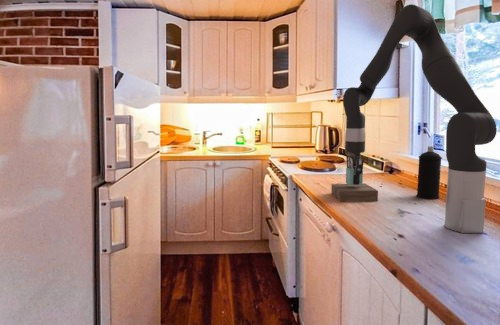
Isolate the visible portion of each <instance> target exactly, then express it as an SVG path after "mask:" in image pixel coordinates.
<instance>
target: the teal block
mask: <svg viewBox="0 0 500 325" xmlns="http://www.w3.org/2000/svg"><path fill="white" fill-rule="evenodd" d="M357 171H358V170H357ZM363 173H364V170H363V171H362V174H360V180H359V185H362V184H363V183H364V182H363V181H364V180H363V179H364V178H363V177H364V176H363ZM353 175H354V174H353V169H352V168H347V167H346V168H345V184H348V185H354V184H353Z"/></svg>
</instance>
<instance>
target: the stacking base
mask: <svg viewBox="0 0 500 325" xmlns="http://www.w3.org/2000/svg"><path fill="white" fill-rule="evenodd" d="M331 195H332V196H334V197H335V199H337V200H338V201H339V202H341V203H352V202H353V203H354V202H355V203H357V202H360V203H361V202H378V201H379V200H378V198H379V190H378V189H376V188H375V187H372V186H370V185H368V184H366V183H362V185H348V184H347V183H333V184H331Z"/></svg>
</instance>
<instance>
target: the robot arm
mask: <svg viewBox="0 0 500 325" xmlns="http://www.w3.org/2000/svg"><path fill="white" fill-rule="evenodd" d="M405 36H407V37H409V38H410V39H412V40H413V41H414V43H415V44H416V45H417V47H418V48H419V50H420V52H421V70H422V73H423V76H424V78H425V79H426V81H427V83H428V85H429V86H430V88H431V89H432V90H433V91H434V92H435V93H436V94H437V95H438V96H439V97H441V98H442V99H443V100H445V101H446V102H448V103H449V105H451V106H452V107H453V108H454V109H455V110H456V112H457V113H455V114H453V115H452V116H451V117H450V119H449V120H448V122H447V126H446V131H445V133H446V134H445V135H446V136H445V142H446V143H445V157H446V160H447V162H448V163H447V164H448V167H447V170H448V171H447V179H446V180H447V182H446V183H447V184H446V197H445V214H444V215H445V216H444V227H445V228H446V229H448V230H452V231H455V232H459V233H461V234H474V233H477V234H478V233H479V234H480V233H484V228H485V226H484V225H485V213H486V201H487V200H486V199H485V190H486V189H485V188H486V186H485V185H486V177H487V176H486V175H487V174H486V173H487V161H486V160H485V159H483V158H481V157H480V156H478V155H477V152H476V146H482V145H488V144H490V143H491V142H492V141H494V139H495V138H496V136H497V129H498V128H497V124H496V120H495V119H494V117H493V115H492V114H491V113H490V111H489V110H488V108H487V107H486V106H485V105H484V104H483V102H482V100H480V98H479V97H478V95H477V94H476V93H475V91H474V89H473V88H472V86H471V84H470V82H469V81H468V79H467V78H466V76H465V74H464V73H463V70H462V68H461V67H460V65H459V63H458V62H457V60H456V58H455V57H454V55H453V53H452V52H451V50H450V48H449V47H448V45H447V43H446V42H445V40H444V39H443V37H442V35H441V33H440V31H439V28H438V25H437V23H436V20H435V18H434V16H433V15H432V13H431V12H430V11H429V10H426V9H424V8H422V7H420V6H418V5H417V4H412V3H411V4H407V5H405V6H403V7H402V8H401V9H400V11H399V12H398V13H397V14H396V16H395V18H394V19H393V21H392V23H391V24H390V27H389V29H388V31H387V32H386V34H385V36H384V38H383V40H382V42H381V44H380V45H379V48H378V49H377V51H376V53H375V55H374V56H373V58H372V59H371V61H370V62H369V63H368V65H367V66H366V67H365V69H363V71H362V73H361V74H360V76H359V81H360V84H359V86H358V87H355V86H354V87H353V86H352V87H351V86H350V87H348V88H347V89H346V90H345V91H344V92H343V96H342V104H343V108H344V114H345V117H346V121H345V123H346V124H345V133H344V134H345V135H344V136H345V137H344V152H345V153H349V154H348V155H346V157H345V158H346V168H352V169H353V174H354V175H353V184H354V185H359V180H360V174H362V171H363V172H364V170H363V169H364V164H365V163H364V159H363V158H362V157H361V154H362V153H365V152H366V115H365V113H363V112H361V107H363V106H365V105H367V103H368V102H370V100H371V99H372V96H373V95H374V93H375V91H376V88H377V86H378V85H379V83H381V81H382V80H383V79H384V77H385V76H386V75H387V73H388V72H389V69H390V67H391V65H392V61H393V58H394V53H395V51H396V48H397V47H398V45H399V43H401V41H402V40H403V39H404V37H405ZM357 170H358V171H357Z"/></svg>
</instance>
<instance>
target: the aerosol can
mask: <svg viewBox="0 0 500 325" xmlns="http://www.w3.org/2000/svg"><path fill="white" fill-rule="evenodd" d="M442 159H443V157H442V156H441V155H440V154H439V153H437V152H434V146H431V145H428V146H427V151H425V152H422V153H421V154H420V155H419V156H418V169H417V170H418V171H417V173H418V174H417V175H418V176H417V190H416V191H417V192H416V195H415V196H416V197H417V198H418V199H425V200H438V199H440V184H441V182H440V181H441V171H442V170H441V166H442Z"/></svg>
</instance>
